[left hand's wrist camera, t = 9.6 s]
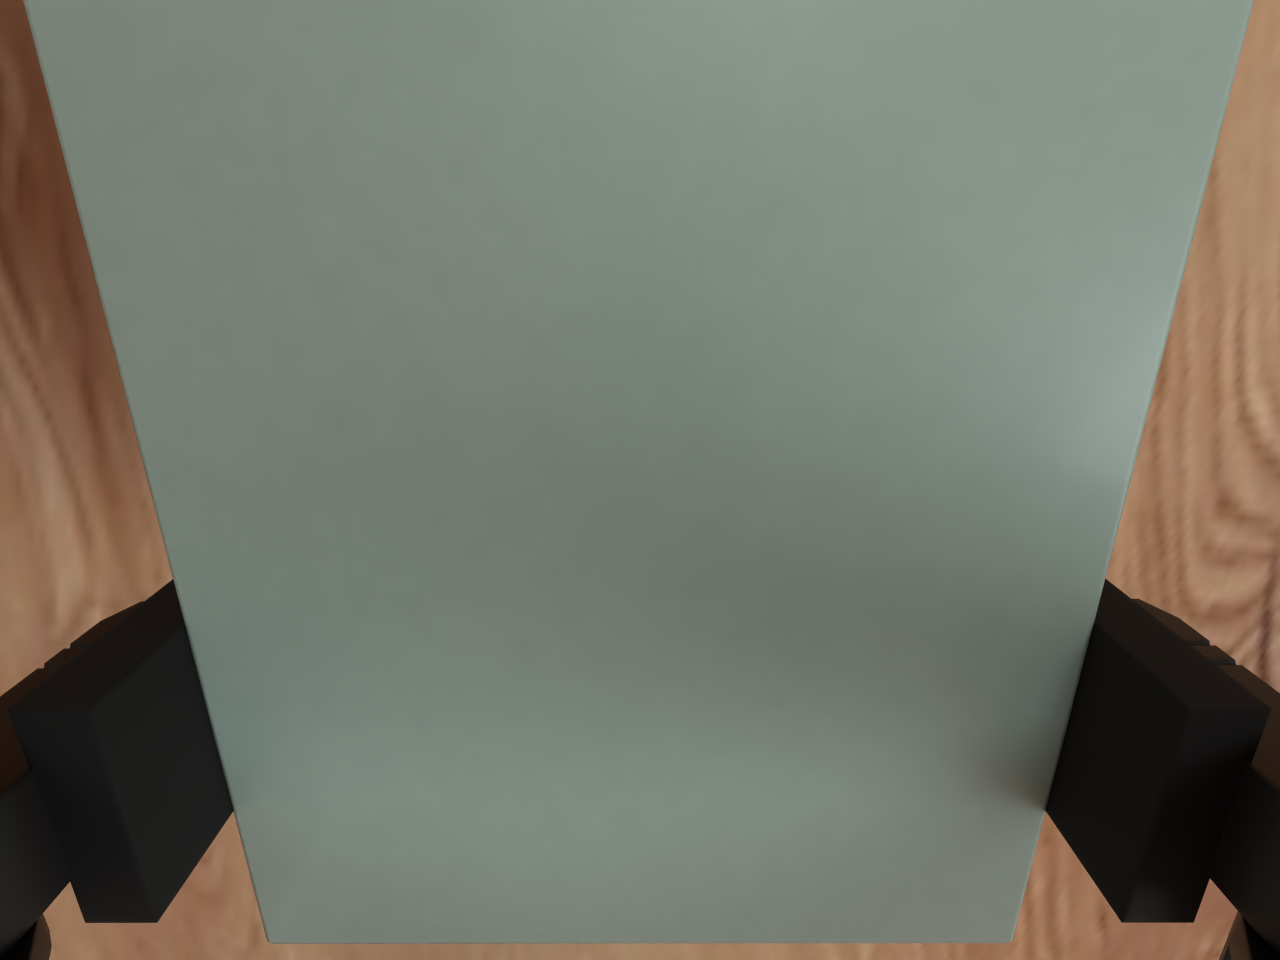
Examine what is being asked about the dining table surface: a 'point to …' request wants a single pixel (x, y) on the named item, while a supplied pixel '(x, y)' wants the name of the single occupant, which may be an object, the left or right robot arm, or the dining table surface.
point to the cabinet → (639, 432)
